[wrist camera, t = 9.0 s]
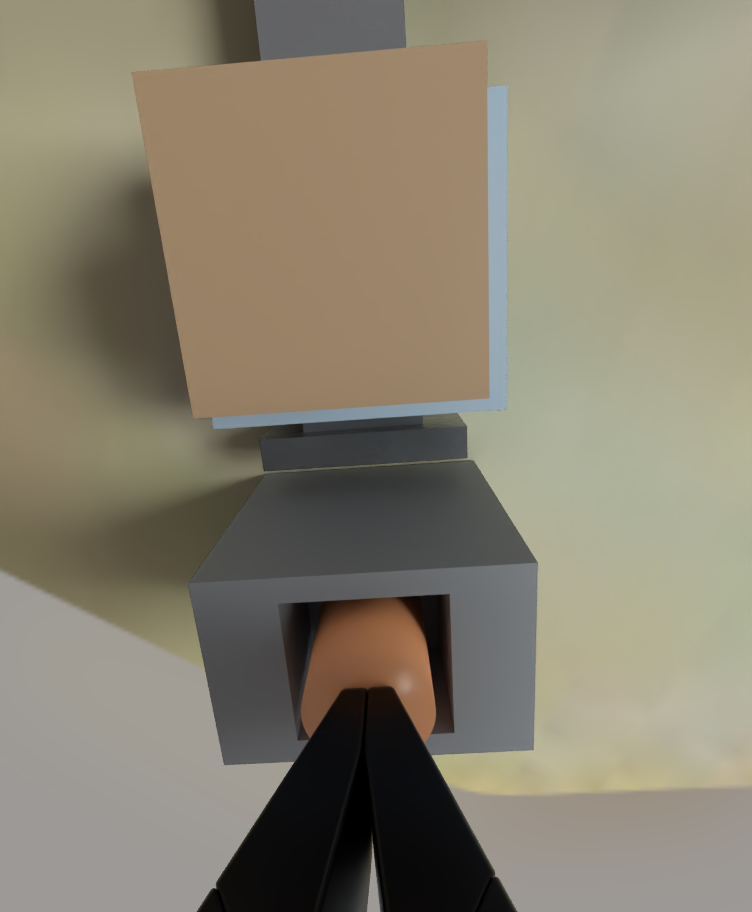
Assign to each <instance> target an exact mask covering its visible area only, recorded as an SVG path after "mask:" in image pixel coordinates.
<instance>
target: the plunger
mask: <svg viewBox="0 0 752 912" xmlns="http://www.w3.org/2000/svg"><path fill="white" fill-rule="evenodd" d="M380 686H391V687H393V688H394V689H395V691H396V693H397V694H398V696H399V698H400V700H401V702H402V703H403V705H404V707H405V709H406V711H407V713H408V714H409V716H410V718H411V720H412V722H413V723H414V725H415V727H416V729H417V731H418V733H419V734H420V736H421V738H422V740H423V742H424V743H425V742H426V740H427V739H428V738H429V736H430V734H431V732H432V730H433V727H434V724H435V719H436V706H435V699H434V691H433V684H432V677H431V670H430V663H429V656H428V648H427V641H426V634H425V627H424V620H423V612H422V605H421V599H420V596H405V597H387V598H370V599H352V600H335V601H322V605H321V610H320V615H319V620H318V625H317V629H316V634H315V639H314V644H313V649H312V654H311V659H310V664H309V669H308V674H307V679H306V684H305V689H304V694H303V699H302V704H301V718H302V722H303V726H304V728H305V731H306V733H307V734H308V736H309V738H311V736H312V734H313V733H314V731H315V730H316V728H317V727H318V725H319V724H320V722H321V721H322V719H323V718H324V716H325V715H326V713H327V711H328V710H329V708H330V707H331V705H332V704H333V702H334V701H335V699H336V698H337V696H338V695H339V693H340V692H341V690H343V689H345V688H361V687H363V688H366V689H367V691H368V690H369V688H371V687H380Z"/></svg>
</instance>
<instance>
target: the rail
mask: <svg viewBox="0 0 752 912" xmlns="http://www.w3.org/2000/svg"><path fill="white" fill-rule="evenodd" d="M254 7H255V15H256V24H257V33H258V41H259V50H260V59H261V61H264V60H275V59H287V58H298V57H309V56H320V55H331V54H342V53H354V52H365V51H376V50H387V49H398V48H406V37H405V15H404V0H254ZM259 441H260V448H261V455H262V462H263V469H264V471H278V470H293V469H308V468H324V467H339V466H354V465H370V464H385V463H400V462H416V461H431V460H446V459H461V458H467V426H466V424H465V423H464V422H463V420H462V419H461V418H460V416H459V415H458V414H457V413H447V414H432V415H418V416H403V417H388V418H374V419H359V420H344V421H330V422H315V423H300V424H286V425H273V426H272V427H271V428H270V429H269V430H268V431H267V432H266V434H265V435H264V436H263V437H262V438H261V439H260V440H259Z"/></svg>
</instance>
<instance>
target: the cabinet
mask: <svg viewBox="0 0 752 912" xmlns="http://www.w3.org/2000/svg"><path fill="white" fill-rule="evenodd" d="M537 572H538V562H537V561H536V559H535V558H534V556H533V554H532V553H531V551H530V550H529V548H528V546H527V545H526V543H525V542H524V540H523V538H522V537H521V535H520V534H519V532H518V531H517V529H516V527H515V526H514V524H513V523H512V521H511V519H510V518H509V516H508V515H507V513H506V511H505V510H504V508H503V507H502V505H501V503H500V502H499V500H498V499H497V497H496V495H495V494H494V492H493V491H492V489H491V487H490V486H489V484H488V483H487V481H486V479H485V478H484V476H483V475H482V473H481V471H480V470H479V468H478V467H477V465H476V463H475V462H474V461H459V462H444V463H429V464H413V465H398V466H383V467H367V468H352V469H337V470H321V471H306V472H291V473H275V474H265V476H264V477H263V479H262V480H261V481H260V483H259V484H258V486H257V487H256V488H255V490H254V491H253V493H252V494H251V495H250V497H249V498H248V500H247V501H246V502H245V504H244V505H243V507H242V508H241V509H240V511H239V512H238V514H237V515H236V516H235V518H234V519H233V521H232V522H231V524H230V525H229V526H228V528H227V529H226V531H225V532H224V533H223V535H222V536H221V538H220V539H219V540H218V542H217V543H216V545H215V546H214V547H213V549H212V550H211V552H210V553H209V554H208V556H207V557H206V559H205V560H204V561H203V563H202V564H201V566H200V567H199V568H198V570H197V571H196V573H195V574H194V576H193V577H192V578H191V580H190V581H189V583H188V587H189V592H190V597H191V602H192V607H193V612H194V617H195V622H196V627H197V632H198V637H199V642H200V647H201V652H202V657H203V662H204V667H205V672H206V677H207V681H208V687H209V691H210V697H211V702H212V707H213V712H214V717H215V722H216V727H217V732H218V736H219V742H220V746H221V751H222V757H223V762H224V765H234V764H255V763H276V762H295V761H296V759H297V758H298V756H299V754H300V753H301V751H302V750H303V748H304V747H305V745H306V744H307V742H308V741H309V739H310V738H309V736H308V734H307V733H306V731H305V728H304V726H303V722H302V718H301V704H302V699H303V694H304V689H305V684H306V679H307V674H308V669H309V664H310V659H311V654H312V649H313V644H314V639H315V634H316V629H317V625H318V620H319V615H320V610H321V605H322V601H335V600H352V599H370V598H387V597H405V596H420V599H421V605H422V612H423V620H424V627H425V634H426V641H427V648H428V656H429V663H430V670H431V677H432V684H433V691H434V699H435V706H436V719H435V724H434V727H433V730H432V732H431V734H430V736H429V738H428V739H427V740H426V742H425V745H426V747H427V749H428V751H429V753H430V754H431V755H443V754H463V753H484V752H505V751H526V750H534V708H535V662H536V617H537Z"/></svg>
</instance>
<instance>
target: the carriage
mask: <svg viewBox="0 0 752 912" xmlns="http://www.w3.org/2000/svg"><path fill="white" fill-rule="evenodd" d="M132 77H133V83H134V89H135V94H136V100H137V105H138V111H139V117H140V122H141V128H142V134H143V139H144V145H145V150H146V156H147V162H148V167H149V173H150V179H151V184H152V190H153V195H154V201H155V207H156V212H157V218H158V224H159V229H160V235H161V240H162V246H163V252H164V257H165V263H166V269H167V274H168V280H169V285H170V291H171V297H172V302H173V308H174V314H175V319H176V325H177V330H178V336H179V342H180V347H181V353H182V359H183V364H184V370H185V375H186V381H187V387H188V392H189V398H190V404H191V409H192V415H193V419H198V418H212V423H213V429H227V428H241V427H256V426H271V425H286V424H300V423H315V422H330V421H344V420H359V419H374V418H388V417H403V416H418V415H432V414H447V413H462V412H477V411H491V410H506V409H507V85H504V86H492V87H487V41H476V42H465V43H454V44H443V45H432V46H421V47H409V48H398V49H387V50H376V51H365V52H354V53H342V54H331V55H320V56H309V57H298V58H287V59H275V60H264V61H253V62H242V63H231V64H220V65H208V66H197V67H186V68H175V69H164V70H153V71H141V72H132Z"/></svg>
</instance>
